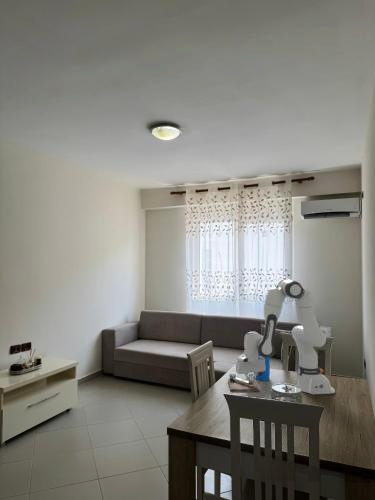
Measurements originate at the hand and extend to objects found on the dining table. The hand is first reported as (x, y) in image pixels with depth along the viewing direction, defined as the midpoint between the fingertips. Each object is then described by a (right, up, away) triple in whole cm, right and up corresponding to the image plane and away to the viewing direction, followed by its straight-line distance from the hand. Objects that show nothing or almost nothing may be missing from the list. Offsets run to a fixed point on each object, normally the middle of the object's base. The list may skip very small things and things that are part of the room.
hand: (250, 379), depth 221 cm
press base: (-4, -6, +4) cm, 8 cm away
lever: (-5, -4, +6) cm, 9 cm away
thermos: (+11, -7, +19) cm, 23 cm away
